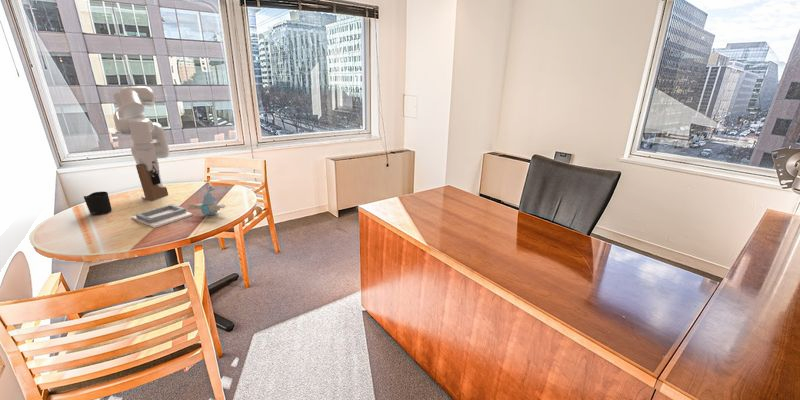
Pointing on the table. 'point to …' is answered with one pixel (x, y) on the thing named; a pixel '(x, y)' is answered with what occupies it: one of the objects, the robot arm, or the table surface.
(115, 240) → the table surface
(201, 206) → the toy figure
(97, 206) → the pen holder
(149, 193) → the wooden block
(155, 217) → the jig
